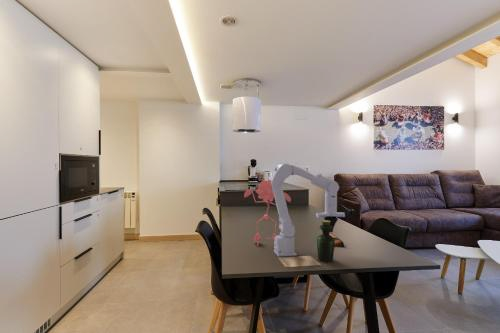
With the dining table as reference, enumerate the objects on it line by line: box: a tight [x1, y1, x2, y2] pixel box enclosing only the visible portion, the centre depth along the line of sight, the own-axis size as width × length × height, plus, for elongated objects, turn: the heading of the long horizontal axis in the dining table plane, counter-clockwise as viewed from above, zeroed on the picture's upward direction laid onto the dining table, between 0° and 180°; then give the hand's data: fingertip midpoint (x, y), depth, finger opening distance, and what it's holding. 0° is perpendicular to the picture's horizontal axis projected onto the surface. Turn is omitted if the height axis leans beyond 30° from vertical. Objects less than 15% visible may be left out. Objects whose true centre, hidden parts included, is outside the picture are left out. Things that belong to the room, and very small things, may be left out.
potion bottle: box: [316, 219, 335, 263], centre depth 121 cm, size 8×8×18 cm
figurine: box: [243, 179, 292, 246], centre depth 147 cm, size 15×26×35 cm, turn 84°
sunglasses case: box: [329, 232, 345, 248], centre depth 149 cm, size 18×7×7 cm
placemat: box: [277, 255, 322, 269], centre depth 119 cm, size 16×11×1 cm
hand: (330, 231), depth 131 cm, fingers closed
